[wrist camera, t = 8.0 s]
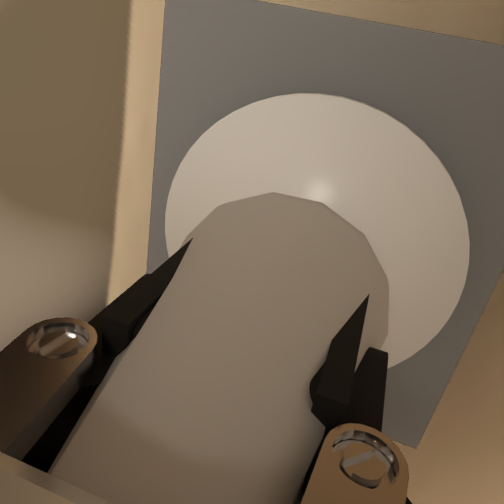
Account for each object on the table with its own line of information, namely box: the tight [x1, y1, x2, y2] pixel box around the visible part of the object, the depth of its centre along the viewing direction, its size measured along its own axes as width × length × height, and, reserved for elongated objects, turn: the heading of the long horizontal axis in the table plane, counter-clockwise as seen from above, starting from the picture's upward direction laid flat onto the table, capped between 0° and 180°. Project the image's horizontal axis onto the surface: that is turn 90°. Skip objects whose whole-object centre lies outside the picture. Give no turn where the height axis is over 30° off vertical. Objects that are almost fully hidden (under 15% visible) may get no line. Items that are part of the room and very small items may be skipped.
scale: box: [146, 0, 504, 449], centre depth 17 cm, size 14×12×4 cm
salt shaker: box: [47, 192, 389, 504], centre depth 8 cm, size 6×6×13 cm
